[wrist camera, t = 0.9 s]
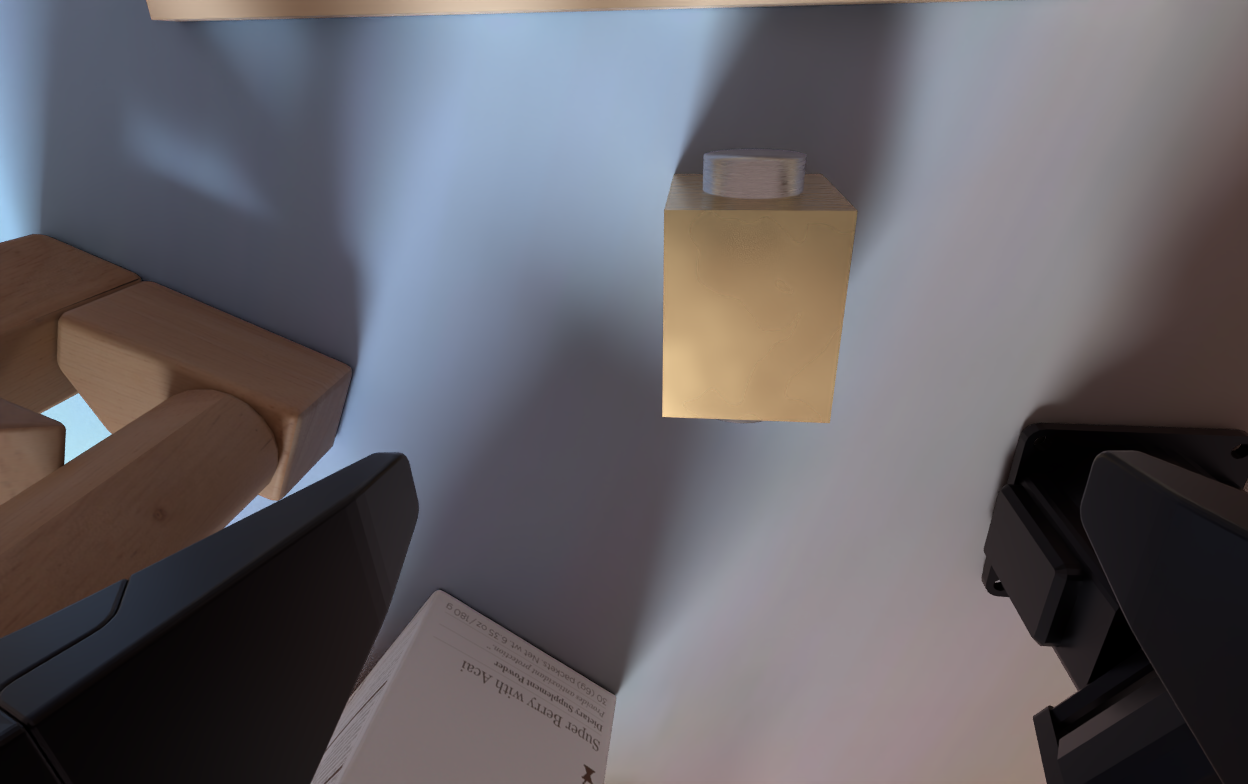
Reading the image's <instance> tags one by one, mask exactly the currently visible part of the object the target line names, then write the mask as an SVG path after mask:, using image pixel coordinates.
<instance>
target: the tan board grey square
mask: <svg viewBox="0 0 1248 784" xmlns="http://www.w3.org/2000/svg"><path fill="white" fill-rule="evenodd" d="M963 1H1002V0H146V2H147V5H148V9H149V12H150V16H151V19H152V20H160V21H176V22H185V21H224V20H263V19H302V18H341V17H380V16H418V15H457V14H496V13H535V12H574V11H613V10H652V9H691V8H730V7H769V6H808V5H847V4H886V3H924V2H963Z"/></svg>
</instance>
